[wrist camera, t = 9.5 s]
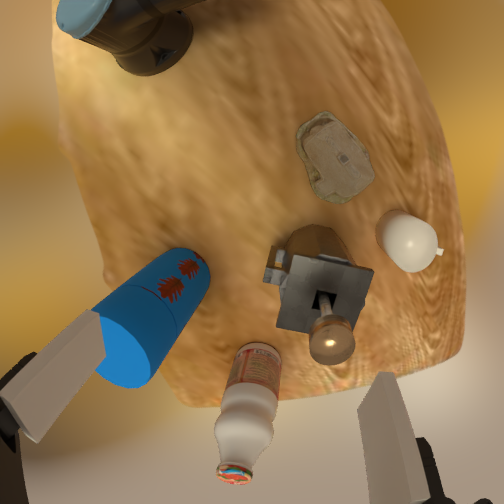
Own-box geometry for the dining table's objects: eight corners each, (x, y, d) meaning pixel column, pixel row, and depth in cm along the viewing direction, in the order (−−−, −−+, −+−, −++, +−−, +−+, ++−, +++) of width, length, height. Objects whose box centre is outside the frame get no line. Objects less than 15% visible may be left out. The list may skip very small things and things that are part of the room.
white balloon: (381, 204, 43) (400, 214, 35) (430, 219, 42) (455, 231, 34) (370, 248, 46) (385, 266, 37) (418, 260, 45) (439, 279, 36)
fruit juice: (276, 338, 53) (259, 463, 27) (285, 373, 56) (274, 491, 29) (230, 343, 55) (188, 459, 29) (242, 377, 57) (212, 488, 31)
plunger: (297, 239, 39) (300, 300, 22) (351, 252, 38) (389, 316, 21) (285, 290, 41) (278, 372, 24) (336, 301, 41) (357, 384, 24)
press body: (277, 216, 46) (269, 245, 30) (351, 233, 45) (380, 269, 29) (266, 272, 49) (252, 325, 33) (336, 287, 48) (352, 343, 32)
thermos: (223, 274, 51) (169, 363, 27) (189, 311, 54) (130, 400, 30) (176, 234, 50) (90, 294, 26) (147, 274, 53) (67, 345, 29)
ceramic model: (383, 176, 42) (405, 180, 32) (329, 214, 45) (339, 227, 36) (333, 104, 40) (343, 89, 30) (277, 143, 43) (273, 137, 33)
